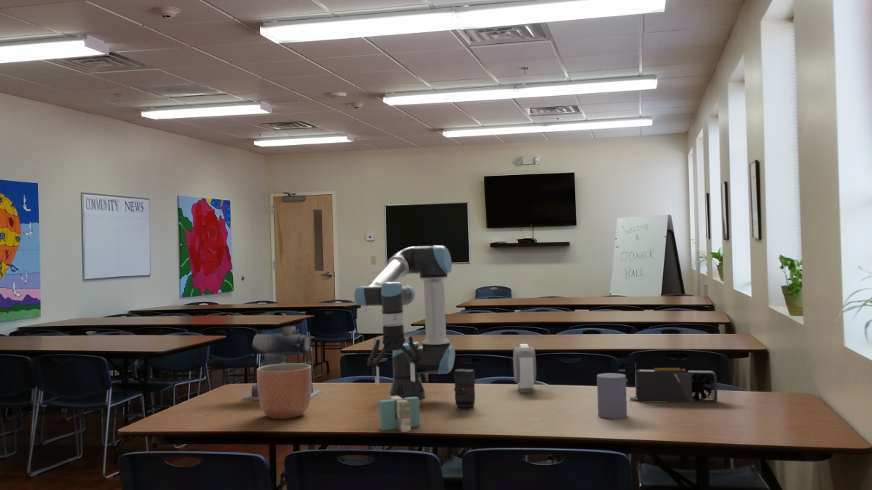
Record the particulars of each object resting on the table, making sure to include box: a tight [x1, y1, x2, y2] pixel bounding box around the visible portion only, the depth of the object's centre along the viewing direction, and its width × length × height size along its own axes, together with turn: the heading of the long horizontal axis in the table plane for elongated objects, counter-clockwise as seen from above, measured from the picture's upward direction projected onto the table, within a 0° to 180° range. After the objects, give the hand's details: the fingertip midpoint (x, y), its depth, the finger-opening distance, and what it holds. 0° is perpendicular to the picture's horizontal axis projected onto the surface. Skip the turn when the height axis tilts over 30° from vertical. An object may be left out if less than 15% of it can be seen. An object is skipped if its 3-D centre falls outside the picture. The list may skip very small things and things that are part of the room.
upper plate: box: [388, 395, 412, 433], centre depth 267 cm, size 14×3×10 cm, turn 21°
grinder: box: [241, 326, 323, 401], centre depth 333 cm, size 18×31×31 cm, turn 79°
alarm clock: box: [512, 343, 537, 394], centre depth 329 cm, size 18×8×20 cm, turn 179°
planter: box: [256, 362, 312, 420], centre depth 291 cm, size 21×21×19 cm
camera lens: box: [453, 368, 476, 410], centre depth 296 cm, size 8×8×15 cm
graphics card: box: [629, 362, 718, 404], centre depth 298 cm, size 33×5×14 cm, turn 76°
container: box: [596, 372, 628, 420], centre depth 275 cm, size 10×10×15 cm
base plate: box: [378, 397, 421, 431], centre depth 267 cm, size 14×3×10 cm, turn 111°
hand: (395, 383), depth 272 cm, fingers open, 13 cm apart
